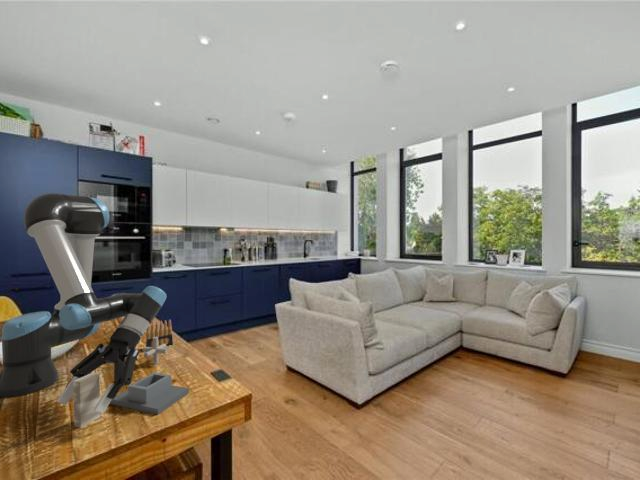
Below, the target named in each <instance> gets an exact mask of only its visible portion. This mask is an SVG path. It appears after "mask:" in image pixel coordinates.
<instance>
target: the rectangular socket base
mask: <svg viewBox="0 0 640 480" xmlns="http://www.w3.org/2000/svg"><path fill="white" fill-rule="evenodd" d="M172 381H173V380H172V375H171V374H167V373H162V372H161V373H160V372H156V371H155V372H152V373H150V374H148V375H147V376H145V377H143V378H141V379H139V380H137V381H135V382H133V383H130V385H127V389H126V390H124V391H122V392H120V393H117V395H116V396H115V398H114V399H112V400H111V402H110V403H109V405H114V406H119V407H123V408H128V409H132V410H137V411H141V412H146V413H150V414H155V415H160V414H161V413H163V412H164V411H165V410H167V409H168V408H170V407H171V406H172V405H174V404H176V403H177V402H178V401H180V400H182V399H183V398H184V397H186V396H187V395H188V394H190V389H189V387H183V386H179V385H173V384H172V383H173V382H172Z"/></svg>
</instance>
